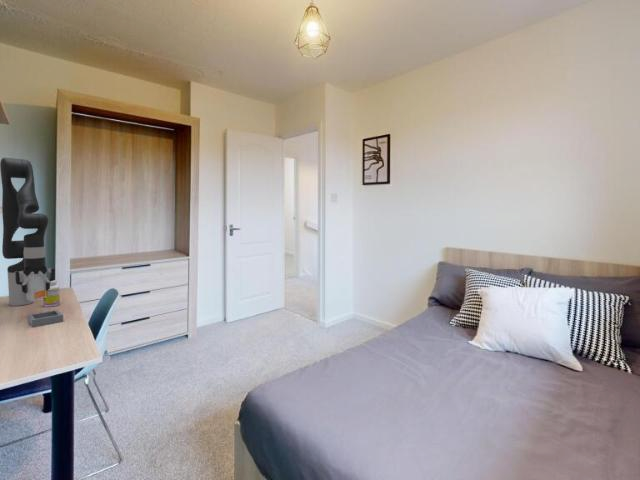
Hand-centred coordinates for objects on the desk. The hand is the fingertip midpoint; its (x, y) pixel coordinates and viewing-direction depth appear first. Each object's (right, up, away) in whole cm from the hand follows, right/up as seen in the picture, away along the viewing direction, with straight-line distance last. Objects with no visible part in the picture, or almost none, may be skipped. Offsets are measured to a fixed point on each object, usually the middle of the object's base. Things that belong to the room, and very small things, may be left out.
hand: (36, 291), depth 150 cm
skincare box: (0, -4, 0) cm, 4 cm away
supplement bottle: (-7, -10, +17) cm, 21 cm away
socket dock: (+10, -12, -7) cm, 18 cm away
